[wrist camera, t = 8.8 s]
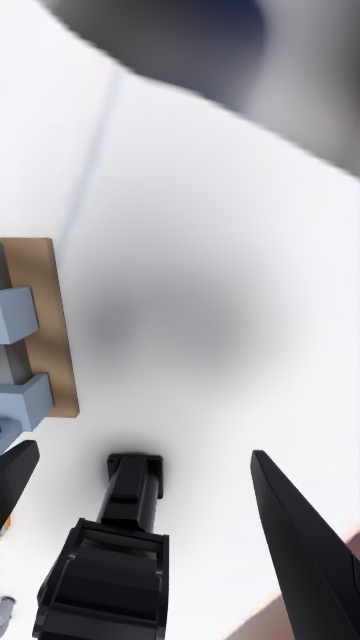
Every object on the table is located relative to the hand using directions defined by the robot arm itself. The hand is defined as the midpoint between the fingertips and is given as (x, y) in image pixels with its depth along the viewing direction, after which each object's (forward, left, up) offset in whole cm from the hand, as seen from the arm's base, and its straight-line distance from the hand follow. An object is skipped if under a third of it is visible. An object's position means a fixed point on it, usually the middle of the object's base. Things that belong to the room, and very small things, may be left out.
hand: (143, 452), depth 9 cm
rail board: (0, +15, -12) cm, 19 cm away
